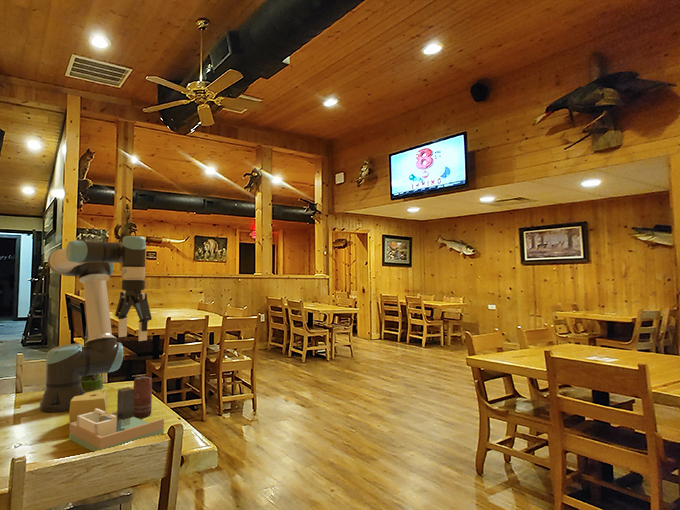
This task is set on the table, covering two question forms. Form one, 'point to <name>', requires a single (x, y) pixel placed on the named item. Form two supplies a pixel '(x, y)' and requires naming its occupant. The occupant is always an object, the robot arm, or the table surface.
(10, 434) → the table surface
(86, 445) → the pinkish brown tray
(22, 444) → the table surface
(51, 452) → the table surface
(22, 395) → the table surface
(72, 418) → the cheese
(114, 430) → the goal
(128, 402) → the block
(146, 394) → the can
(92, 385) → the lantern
